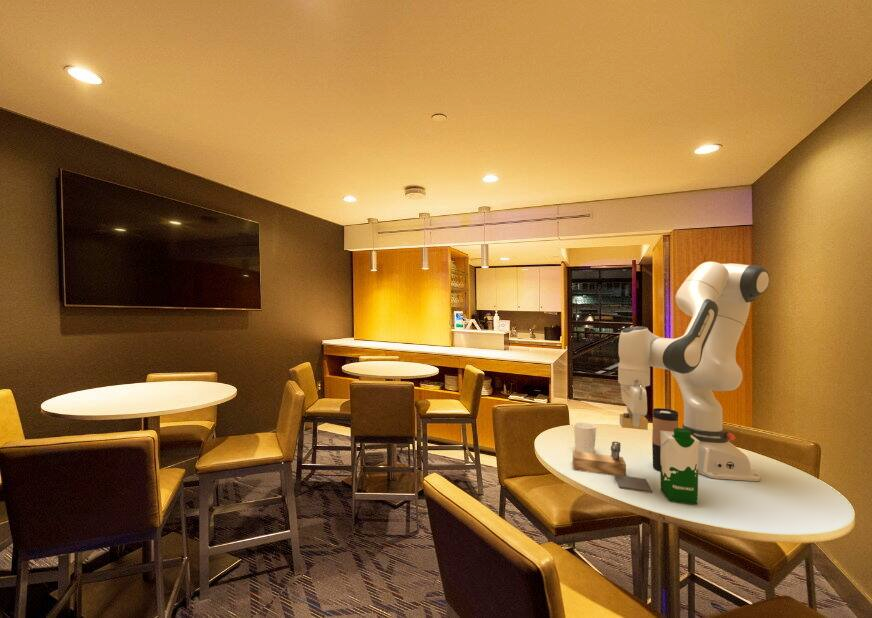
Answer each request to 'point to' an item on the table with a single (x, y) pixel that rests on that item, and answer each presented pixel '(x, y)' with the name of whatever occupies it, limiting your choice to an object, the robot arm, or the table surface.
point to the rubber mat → (633, 483)
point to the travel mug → (661, 422)
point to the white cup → (584, 437)
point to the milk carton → (679, 466)
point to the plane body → (599, 463)
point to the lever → (615, 449)
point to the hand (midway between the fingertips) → (633, 422)
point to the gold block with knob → (627, 422)
